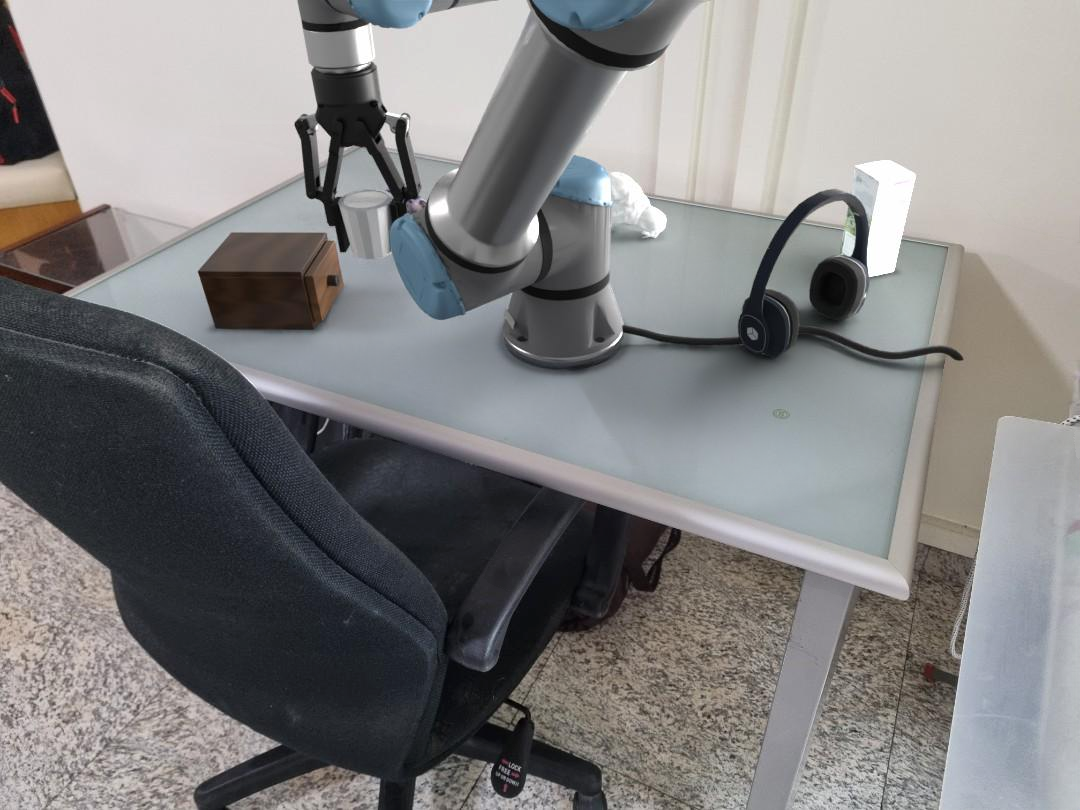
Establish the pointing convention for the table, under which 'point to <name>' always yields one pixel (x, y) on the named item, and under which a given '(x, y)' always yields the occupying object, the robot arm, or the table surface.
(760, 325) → the headphones
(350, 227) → the shot glass
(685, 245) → the table surface
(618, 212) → the white figurine
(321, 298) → the drawer
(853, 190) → the syrup box
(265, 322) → the cabinet
